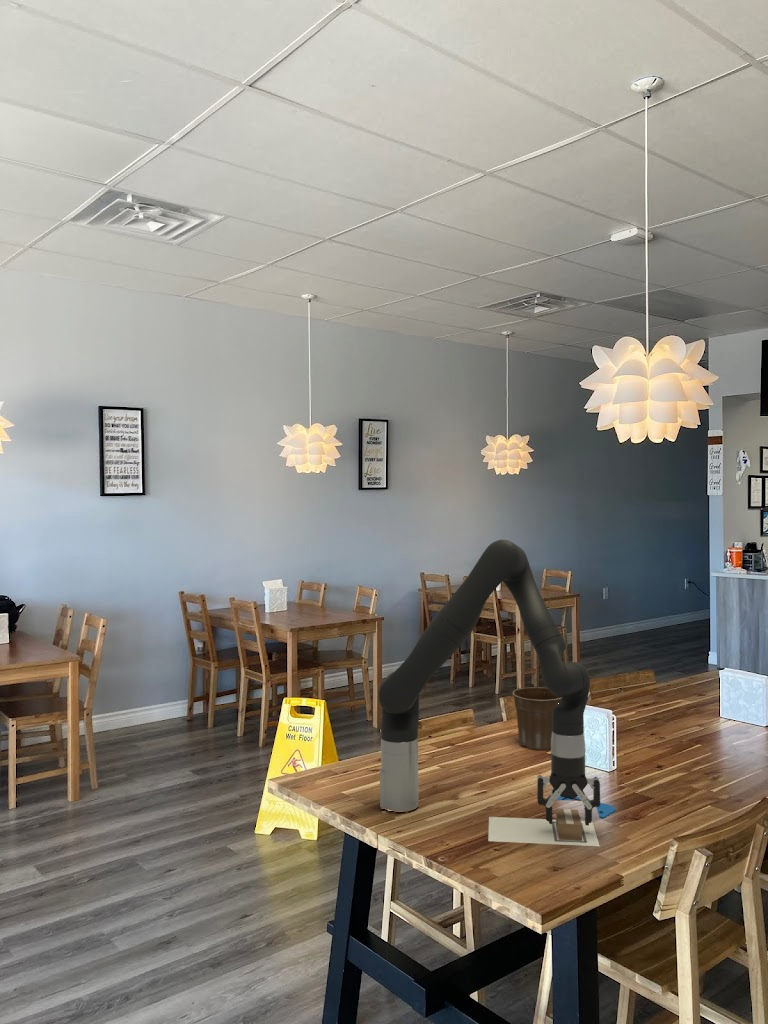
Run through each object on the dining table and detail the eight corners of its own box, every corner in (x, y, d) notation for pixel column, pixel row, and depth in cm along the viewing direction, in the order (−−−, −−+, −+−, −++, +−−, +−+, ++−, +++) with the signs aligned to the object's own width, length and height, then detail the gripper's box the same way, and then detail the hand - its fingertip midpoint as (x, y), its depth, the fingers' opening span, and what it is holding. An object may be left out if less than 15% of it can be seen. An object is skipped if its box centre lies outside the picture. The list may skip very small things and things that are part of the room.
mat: (488, 843, 180) (488, 840, 180) (488, 818, 194) (488, 816, 194) (599, 848, 177) (599, 845, 177) (592, 823, 191) (592, 820, 191)
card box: (556, 823, 189) (555, 808, 189) (577, 824, 189) (577, 809, 189) (558, 839, 181) (558, 823, 181) (582, 840, 180) (581, 824, 180)
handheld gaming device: (603, 816, 193) (547, 801, 203) (603, 820, 193) (547, 805, 203) (619, 806, 199) (564, 792, 209) (619, 810, 199) (564, 796, 209)
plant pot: (570, 752, 245) (570, 699, 244) (516, 752, 245) (516, 699, 245) (560, 737, 261) (559, 687, 261) (509, 737, 261) (509, 687, 261)
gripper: (598, 747, 187) (598, 818, 187) (535, 745, 189) (535, 815, 189) (602, 757, 180) (603, 831, 180) (536, 755, 182) (537, 828, 182)
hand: (568, 823), depth 185 cm, fingers open, 7 cm apart
